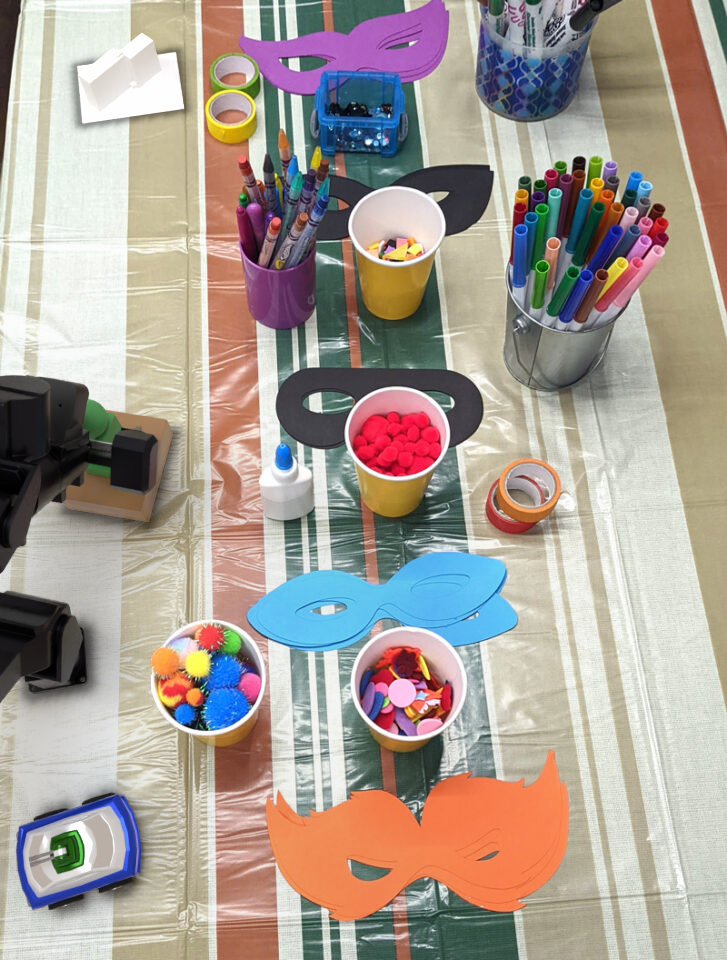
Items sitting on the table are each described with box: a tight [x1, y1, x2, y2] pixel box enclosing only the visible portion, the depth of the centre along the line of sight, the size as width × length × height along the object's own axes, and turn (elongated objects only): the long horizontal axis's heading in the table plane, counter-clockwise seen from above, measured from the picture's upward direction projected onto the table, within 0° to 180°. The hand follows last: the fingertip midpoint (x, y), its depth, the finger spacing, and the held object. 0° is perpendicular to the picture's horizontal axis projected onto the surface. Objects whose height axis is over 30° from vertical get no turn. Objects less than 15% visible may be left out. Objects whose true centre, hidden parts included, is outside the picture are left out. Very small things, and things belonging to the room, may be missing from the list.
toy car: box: [15, 792, 143, 911], centre depth 89 cm, size 9×12×10 cm
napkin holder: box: [76, 32, 185, 124], centre depth 128 cm, size 15×11×6 cm
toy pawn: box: [83, 398, 122, 478], centre depth 99 cm, size 5×5×13 cm
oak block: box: [62, 409, 174, 523], centre depth 107 cm, size 12×10×4 cm
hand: (100, 422), depth 99 cm, fingers open, 9 cm apart
